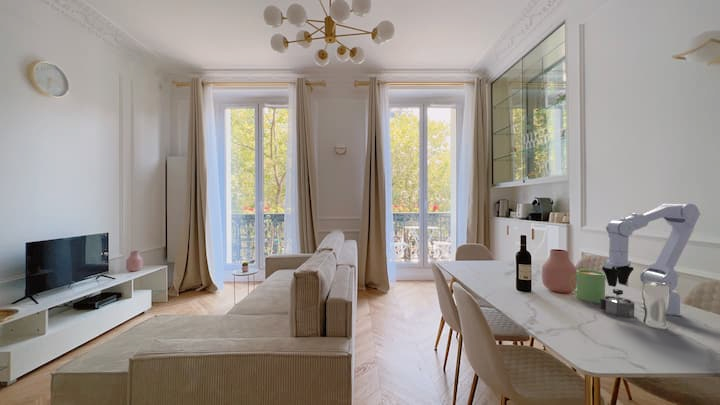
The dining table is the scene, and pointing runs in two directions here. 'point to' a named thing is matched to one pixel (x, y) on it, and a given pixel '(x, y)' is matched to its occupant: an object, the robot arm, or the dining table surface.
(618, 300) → the plunger
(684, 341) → the dining table surface
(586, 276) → the mug
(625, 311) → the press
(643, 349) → the dining table surface
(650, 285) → the beer glass
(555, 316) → the dining table surface
